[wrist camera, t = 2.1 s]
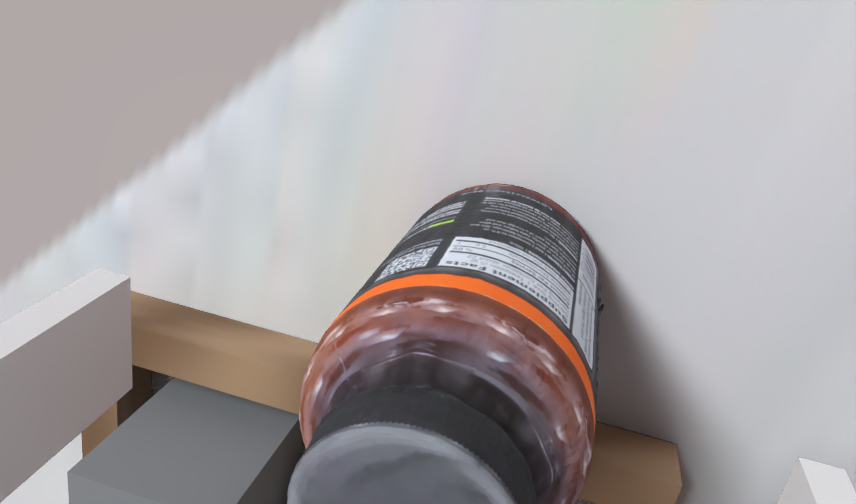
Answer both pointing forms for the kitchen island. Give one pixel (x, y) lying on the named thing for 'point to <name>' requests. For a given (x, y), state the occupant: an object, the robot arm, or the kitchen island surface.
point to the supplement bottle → (460, 364)
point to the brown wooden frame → (282, 380)
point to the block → (192, 452)
